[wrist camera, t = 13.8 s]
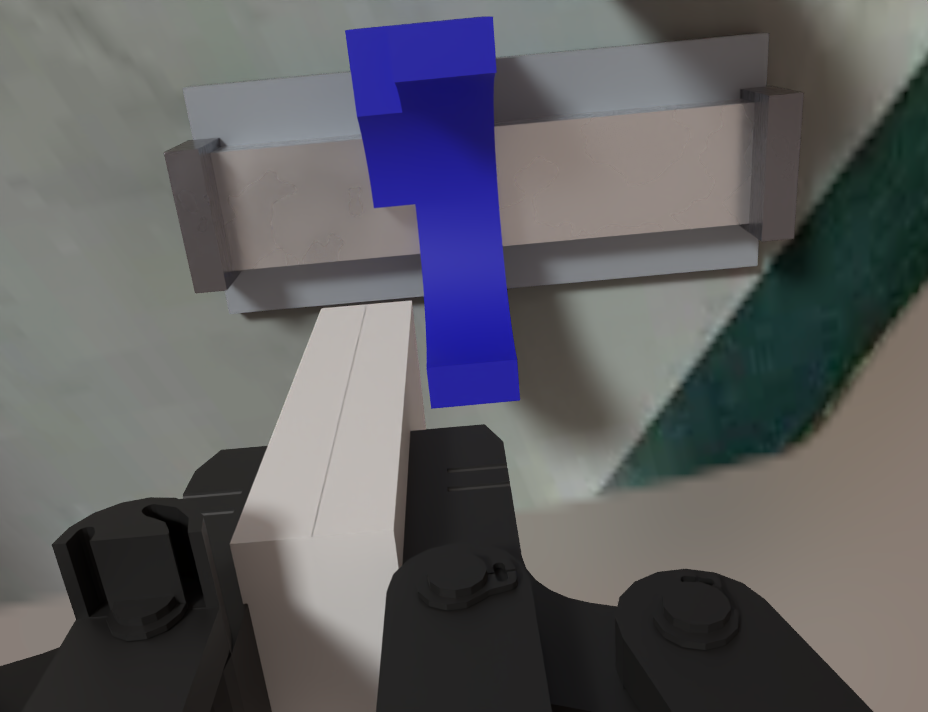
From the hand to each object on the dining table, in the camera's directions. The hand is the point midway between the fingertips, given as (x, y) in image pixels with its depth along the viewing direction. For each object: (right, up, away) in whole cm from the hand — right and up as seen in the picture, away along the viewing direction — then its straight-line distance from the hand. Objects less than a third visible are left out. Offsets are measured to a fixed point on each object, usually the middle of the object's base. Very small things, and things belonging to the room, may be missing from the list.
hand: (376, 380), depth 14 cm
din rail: (+2, +8, +19) cm, 21 cm away
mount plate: (+2, +8, +19) cm, 21 cm away
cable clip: (0, +7, +17) cm, 19 cm away
